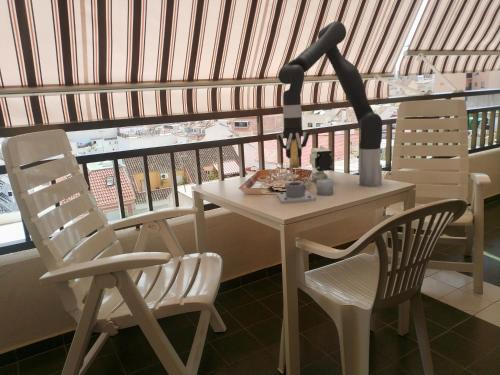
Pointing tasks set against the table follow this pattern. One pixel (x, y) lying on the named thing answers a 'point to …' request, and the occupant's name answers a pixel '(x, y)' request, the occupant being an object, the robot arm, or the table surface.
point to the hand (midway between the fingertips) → (293, 157)
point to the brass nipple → (294, 154)
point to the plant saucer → (284, 187)
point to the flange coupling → (295, 193)
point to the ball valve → (320, 162)
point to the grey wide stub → (324, 187)
